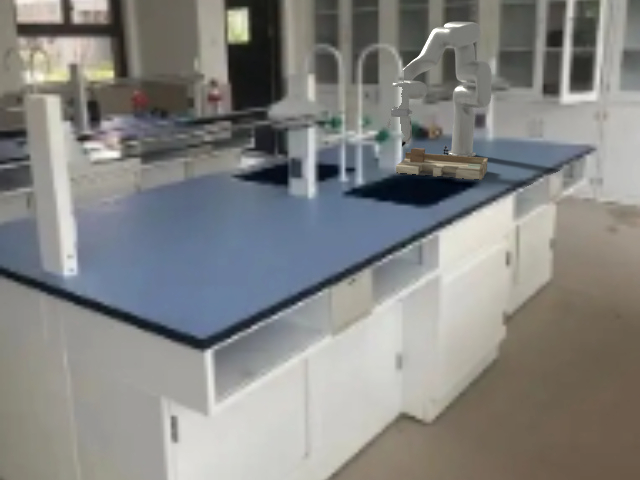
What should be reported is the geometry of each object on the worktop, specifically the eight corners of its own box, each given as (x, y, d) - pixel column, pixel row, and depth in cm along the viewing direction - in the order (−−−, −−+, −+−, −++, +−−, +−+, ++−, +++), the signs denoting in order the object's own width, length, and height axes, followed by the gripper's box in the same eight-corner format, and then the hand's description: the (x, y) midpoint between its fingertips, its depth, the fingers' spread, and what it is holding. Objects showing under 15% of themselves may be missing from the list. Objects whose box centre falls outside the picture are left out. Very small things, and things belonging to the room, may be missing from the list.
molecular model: (476, 166, 299) (478, 146, 296) (441, 165, 300) (442, 145, 298) (475, 163, 305) (476, 144, 302) (440, 162, 306) (441, 143, 304)
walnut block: (412, 159, 295) (413, 147, 293) (424, 160, 293) (425, 148, 292) (410, 161, 290) (410, 149, 289) (422, 162, 289) (422, 150, 287)
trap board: (405, 165, 299) (406, 152, 298) (486, 171, 289) (487, 158, 287) (395, 173, 283) (396, 159, 281) (481, 180, 272) (482, 166, 271)
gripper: (419, 112, 290) (416, 156, 295) (384, 110, 294) (382, 154, 300) (415, 114, 283) (413, 159, 288) (379, 112, 288) (377, 157, 293)
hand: (397, 156), depth 294 cm, fingers closed
